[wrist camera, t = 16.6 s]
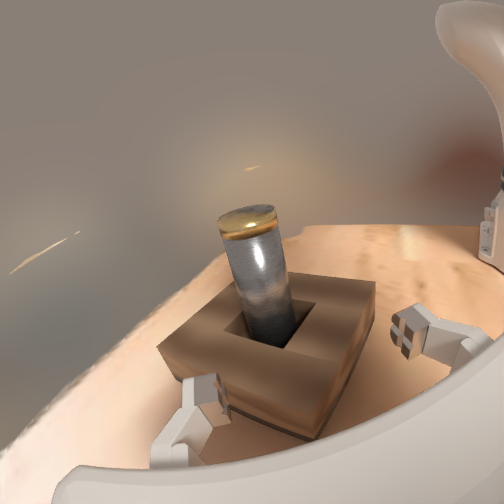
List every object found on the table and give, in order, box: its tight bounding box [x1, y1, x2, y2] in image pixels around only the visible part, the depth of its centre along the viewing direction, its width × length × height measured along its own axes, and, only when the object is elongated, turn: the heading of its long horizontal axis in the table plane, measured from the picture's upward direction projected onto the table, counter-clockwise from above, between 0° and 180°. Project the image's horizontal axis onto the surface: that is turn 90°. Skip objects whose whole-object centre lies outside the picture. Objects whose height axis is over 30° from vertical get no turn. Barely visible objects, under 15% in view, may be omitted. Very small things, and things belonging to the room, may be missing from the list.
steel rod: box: [217, 204, 298, 349], centre depth 24 cm, size 5×5×14 cm
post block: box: [156, 272, 376, 442], centre depth 26 cm, size 16×16×5 cm
